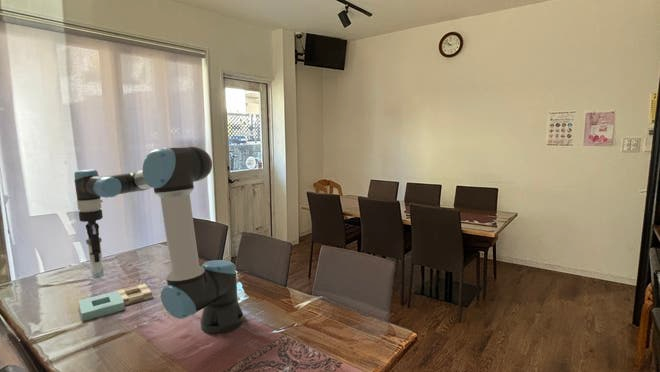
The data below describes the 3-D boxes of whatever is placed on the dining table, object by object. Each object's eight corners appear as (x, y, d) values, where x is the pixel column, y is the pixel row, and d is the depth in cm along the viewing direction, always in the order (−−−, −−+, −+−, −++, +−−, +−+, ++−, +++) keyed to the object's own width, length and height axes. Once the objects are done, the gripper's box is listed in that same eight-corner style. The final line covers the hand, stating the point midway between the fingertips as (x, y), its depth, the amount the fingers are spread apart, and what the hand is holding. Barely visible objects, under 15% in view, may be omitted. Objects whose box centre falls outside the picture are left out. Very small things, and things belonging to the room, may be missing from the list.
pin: (106, 276, 142) (102, 239, 140) (91, 280, 139) (86, 242, 137) (104, 273, 146) (100, 236, 144) (89, 276, 143) (85, 239, 141)
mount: (152, 297, 153) (151, 292, 153) (120, 306, 146) (119, 300, 145) (145, 288, 162) (145, 283, 162) (115, 296, 155) (114, 290, 155)
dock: (124, 309, 143) (124, 302, 143) (82, 321, 135) (81, 313, 134) (118, 297, 154) (118, 290, 154) (79, 307, 145) (78, 300, 145)
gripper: (104, 212, 134) (111, 271, 138) (98, 205, 147) (104, 259, 151) (80, 215, 130) (87, 276, 133) (76, 207, 143) (83, 264, 146)
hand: (96, 267), depth 142 cm, fingers closed on pin, 4 cm apart
